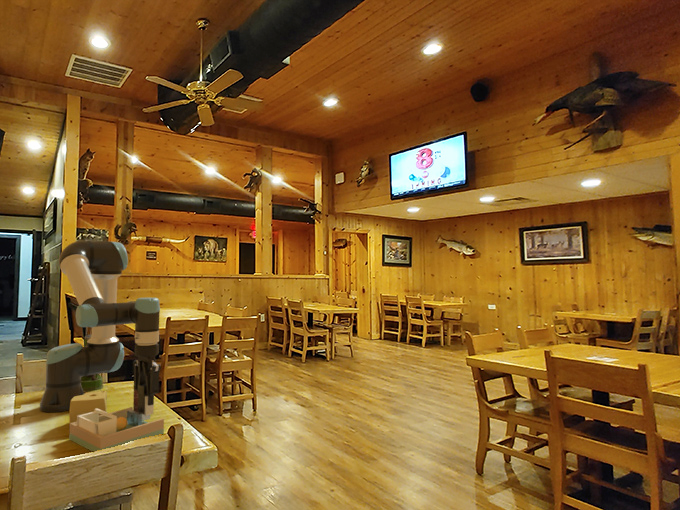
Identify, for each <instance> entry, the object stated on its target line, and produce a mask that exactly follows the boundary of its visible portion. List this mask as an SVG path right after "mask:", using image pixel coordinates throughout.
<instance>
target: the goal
mask: <svg viewBox="0 0 680 510" xmlns="http://www.w3.org/2000/svg"><path fill="white" fill-rule="evenodd" d="M110 413H111V412H107V411H106V412H105V411H103V410H100V409H98V408H96V409H95V411H94V412H90V413H86V414H82V415H78V416H77V426H79V427H81V428H83V429H85V430H87V431H89V432H92V433H94V434H96V435H97V434H99V435H101V436H106V435H109V434H112V433H116V429H117V416H115V415H113V414H110ZM99 414H102V415H104V416H107V417H109V418H112V419H109V420H106V421H102V422H99Z"/></svg>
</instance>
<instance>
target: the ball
mask: <svg viewBox="0 0 680 510" xmlns="http://www.w3.org/2000/svg"><path fill="white" fill-rule="evenodd" d="M126 426H127V419H126V418H124V417H119V418H117V430H123V429H124V428H125V427H126Z"/></svg>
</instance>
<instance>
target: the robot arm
mask: <svg viewBox="0 0 680 510" xmlns="http://www.w3.org/2000/svg"><path fill="white" fill-rule="evenodd" d="M128 257H129V256H128V252H127V249H126V247H125V245H124V244H123V243H121V242H118V241H111V240H110V241H108V240H105V241H104V240H103V241H101V240H84V239H83V240H82V239H81V240H77V241H73V242H72V243H70V244H68V245H66V247H64V248H63V250H62V251H61V253H60V254H59V257H58V265H59V268H60V270H61V272H62V273H63V274H64V275H66V277H67V279H68V282H69V285H70V287H71V289H72V291H73V294H74V296H75V299H76V301H77V303H78V306H77V307H76V310H75V321H76V324H77V326H78V327H80V328H86V327H87V328H91V334H92V337H91V338H90V339H89V340H88V341H87V346H85V347H84V346H83V345H82V343H79V342H78V343H77V342H76V343H66V344H63V345H58V346H55V347H53V348H51V349H49V350H48V352H47V353H46V361H45V365H46V366H45V369H46V370H45V388H44V392H43V394H42V397H41V400H40V403H39V411H41V412H44V413H62V412H66V411H67V412H69V411H70V402H71V399H72V398H73V397H75V396H80V395H83V394H85V392H84V391H83V388H82V386H81V377H82V376H88V375H95V374H99V375H101V374H108V373H111V372H112V373H113V372H115V371H118V370H119V369H120V368H121V366H122V365H123V362H124V357H125V349H124V348H125V347H124V345H123V343H122V342H120V338H119V337H117V336H116V326H119V325H128V324H129V325H132V324H134V331H135V332H134V344H135V345H134V357H137V359H135V360H133V361H132V364H133V365H132V366H133V391H134V390H137V393H138V385H141V384H145V383H146V393H147V394H146V395H145V416H147V415H150V416H151V415H154V407H155V405H154V404H155V395H157V394H159V390H160V389H159V387H160V371H161V367H162V365H161V364H157V360H156V356H157V355H159V353H160V351H159V350H160V344H159V342H160V313H161V312H160V311H161V307H160V300H159V298H158V297H139V298H136V300H134V301H133V300H132V301H127V302H117V297H118V296H117V295H118V279H119V278H120V277H121V276H122V274H123V273H122V272H123V271H124V270H127V267H128V264H129V259H128Z"/></svg>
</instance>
